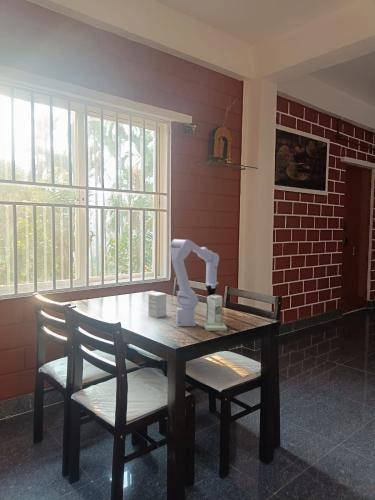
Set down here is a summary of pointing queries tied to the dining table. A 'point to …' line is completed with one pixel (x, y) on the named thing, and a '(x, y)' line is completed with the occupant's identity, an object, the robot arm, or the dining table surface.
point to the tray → (215, 326)
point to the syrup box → (214, 309)
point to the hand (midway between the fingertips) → (210, 299)
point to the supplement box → (157, 304)
